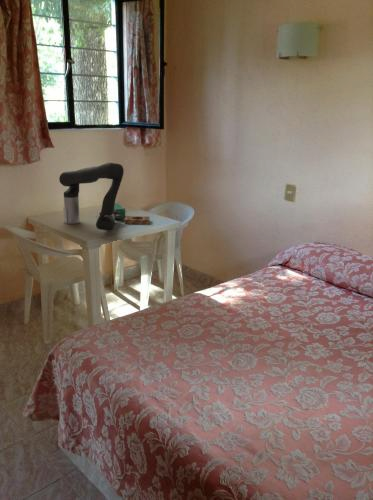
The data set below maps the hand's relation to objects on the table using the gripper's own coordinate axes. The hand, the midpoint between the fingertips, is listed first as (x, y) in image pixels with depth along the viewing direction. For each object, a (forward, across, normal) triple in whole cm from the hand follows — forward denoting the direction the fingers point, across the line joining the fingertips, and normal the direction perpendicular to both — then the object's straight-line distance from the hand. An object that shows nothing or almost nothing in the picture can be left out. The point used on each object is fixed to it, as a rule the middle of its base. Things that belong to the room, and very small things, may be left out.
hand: (111, 211), depth 287 cm
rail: (-1, -17, +7) cm, 18 cm away
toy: (+16, 0, +7) cm, 18 cm away
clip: (-3, 0, +7) cm, 8 cm away
